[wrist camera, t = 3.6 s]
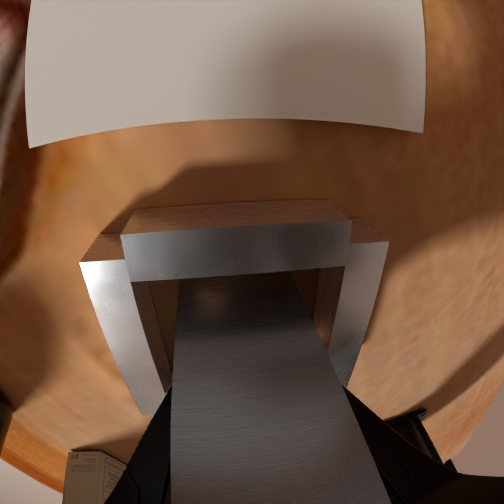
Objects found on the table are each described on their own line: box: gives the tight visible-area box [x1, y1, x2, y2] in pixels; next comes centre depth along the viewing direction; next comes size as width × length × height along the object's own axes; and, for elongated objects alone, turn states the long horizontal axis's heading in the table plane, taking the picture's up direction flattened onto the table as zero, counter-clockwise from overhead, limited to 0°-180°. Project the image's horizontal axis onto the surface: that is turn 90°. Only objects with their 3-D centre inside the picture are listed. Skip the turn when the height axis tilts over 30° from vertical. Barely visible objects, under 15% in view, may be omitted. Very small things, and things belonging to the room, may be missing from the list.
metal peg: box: [170, 271, 391, 504], centre depth 8 cm, size 4×4×9 cm
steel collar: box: [80, 199, 389, 415], centre depth 11 cm, size 10×10×2 cm
